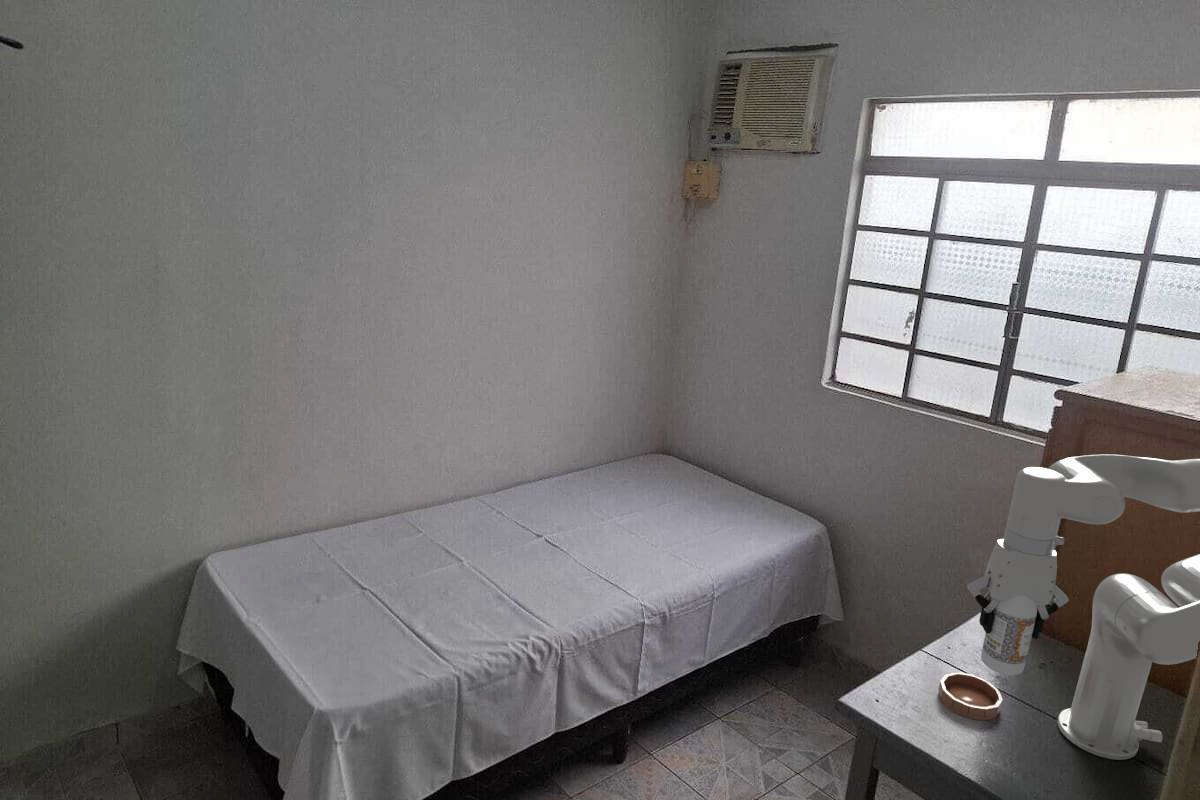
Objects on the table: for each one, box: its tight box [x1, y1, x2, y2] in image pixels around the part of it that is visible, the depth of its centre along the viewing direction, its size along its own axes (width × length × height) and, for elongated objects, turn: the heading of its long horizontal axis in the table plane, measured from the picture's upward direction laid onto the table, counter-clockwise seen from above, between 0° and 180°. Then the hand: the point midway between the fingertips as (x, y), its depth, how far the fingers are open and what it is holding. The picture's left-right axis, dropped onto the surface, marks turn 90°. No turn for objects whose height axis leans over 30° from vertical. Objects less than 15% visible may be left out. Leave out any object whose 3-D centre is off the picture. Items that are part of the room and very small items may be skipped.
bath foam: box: [980, 596, 1037, 676], centre depth 138 cm, size 7×7×20 cm
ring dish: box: [938, 671, 1004, 722], centre depth 152 cm, size 11×11×3 cm
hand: (1008, 631), depth 139 cm, fingers closed on bath foam, 7 cm apart
